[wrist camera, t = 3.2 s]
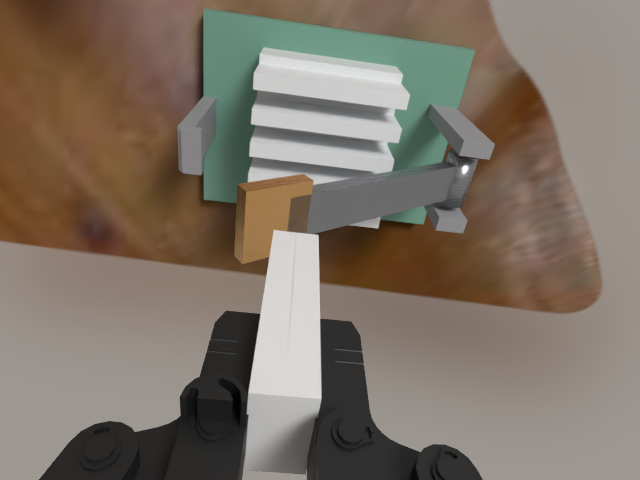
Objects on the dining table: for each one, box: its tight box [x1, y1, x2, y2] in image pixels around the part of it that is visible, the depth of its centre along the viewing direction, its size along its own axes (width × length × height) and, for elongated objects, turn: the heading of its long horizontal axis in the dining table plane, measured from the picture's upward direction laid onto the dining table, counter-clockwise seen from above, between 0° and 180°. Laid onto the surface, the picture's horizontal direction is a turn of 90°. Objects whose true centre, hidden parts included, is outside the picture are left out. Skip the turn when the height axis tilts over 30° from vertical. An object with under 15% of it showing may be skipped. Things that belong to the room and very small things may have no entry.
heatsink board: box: [178, 9, 495, 233], centre depth 26 cm, size 16×12×8 cm
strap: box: [234, 150, 479, 264], centre depth 21 cm, size 14×3×2 cm
